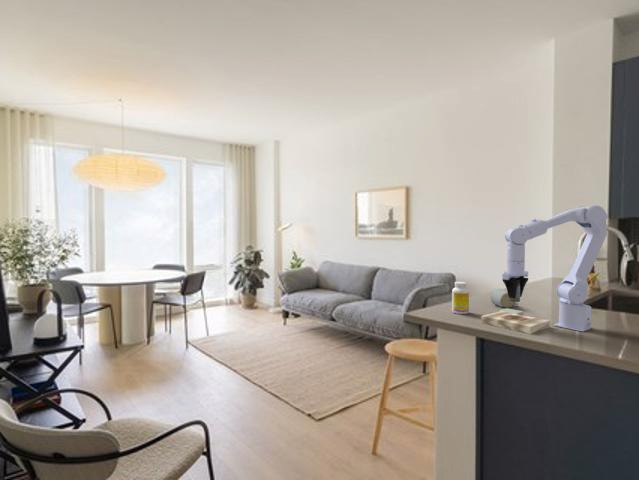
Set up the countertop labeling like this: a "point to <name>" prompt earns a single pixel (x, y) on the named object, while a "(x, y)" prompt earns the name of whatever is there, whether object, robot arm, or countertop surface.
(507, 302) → the ceramic mug
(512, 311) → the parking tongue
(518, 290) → the peg
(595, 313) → the countertop surface
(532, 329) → the hole plate
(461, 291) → the supplement bottle
